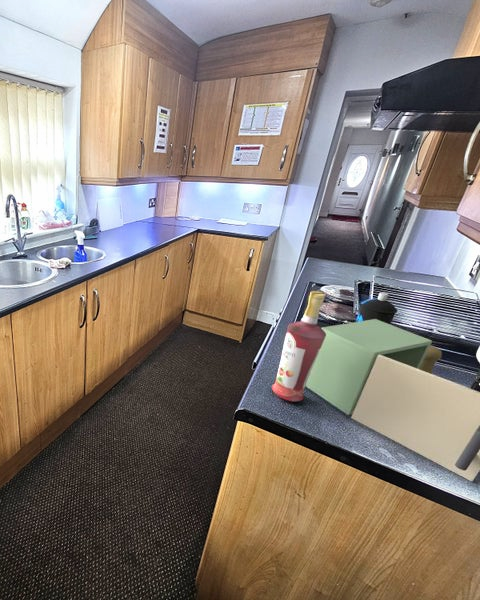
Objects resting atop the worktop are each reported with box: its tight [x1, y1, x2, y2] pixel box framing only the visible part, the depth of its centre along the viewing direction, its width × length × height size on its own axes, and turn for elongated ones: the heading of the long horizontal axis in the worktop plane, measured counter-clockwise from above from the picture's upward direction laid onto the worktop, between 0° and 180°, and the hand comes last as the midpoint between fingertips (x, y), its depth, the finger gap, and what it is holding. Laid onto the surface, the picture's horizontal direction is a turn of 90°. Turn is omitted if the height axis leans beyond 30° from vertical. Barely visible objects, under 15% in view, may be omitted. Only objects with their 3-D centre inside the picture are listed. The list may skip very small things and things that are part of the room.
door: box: [350, 355, 480, 483], centre depth 63 cm, size 6×19×17 cm, turn 31°
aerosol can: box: [354, 291, 398, 325], centre depth 98 cm, size 8×8×20 cm
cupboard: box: [305, 319, 433, 416], centre depth 81 cm, size 12×19×17 cm, turn 107°
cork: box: [419, 344, 443, 374], centre depth 86 cm, size 6×6×11 cm
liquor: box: [271, 290, 326, 403], centre depth 76 cm, size 7×7×28 cm
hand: (477, 403), depth 60 cm, fingers closed
